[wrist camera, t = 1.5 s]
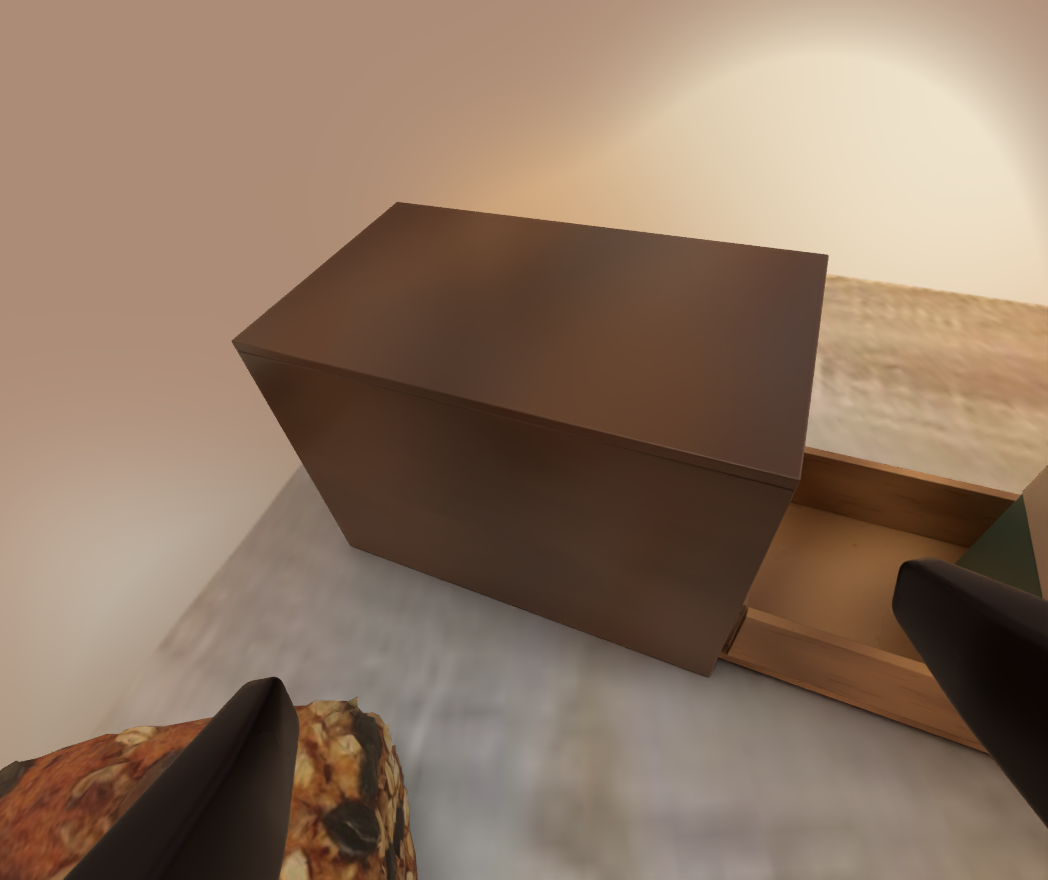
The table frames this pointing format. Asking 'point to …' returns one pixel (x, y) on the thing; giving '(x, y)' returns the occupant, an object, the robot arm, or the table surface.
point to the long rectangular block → (1016, 543)
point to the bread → (146, 751)
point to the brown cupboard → (554, 412)
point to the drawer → (858, 585)
